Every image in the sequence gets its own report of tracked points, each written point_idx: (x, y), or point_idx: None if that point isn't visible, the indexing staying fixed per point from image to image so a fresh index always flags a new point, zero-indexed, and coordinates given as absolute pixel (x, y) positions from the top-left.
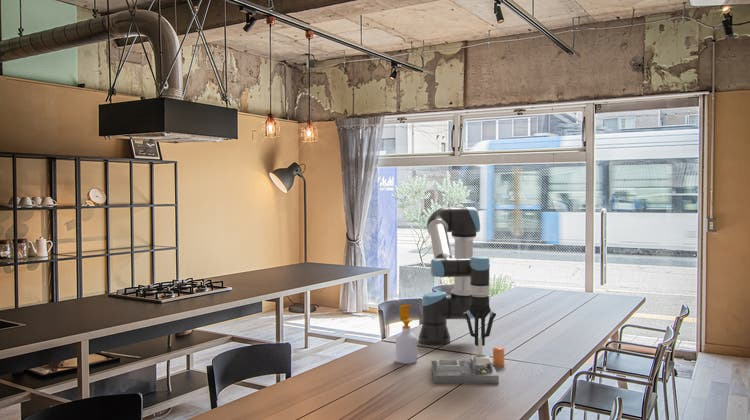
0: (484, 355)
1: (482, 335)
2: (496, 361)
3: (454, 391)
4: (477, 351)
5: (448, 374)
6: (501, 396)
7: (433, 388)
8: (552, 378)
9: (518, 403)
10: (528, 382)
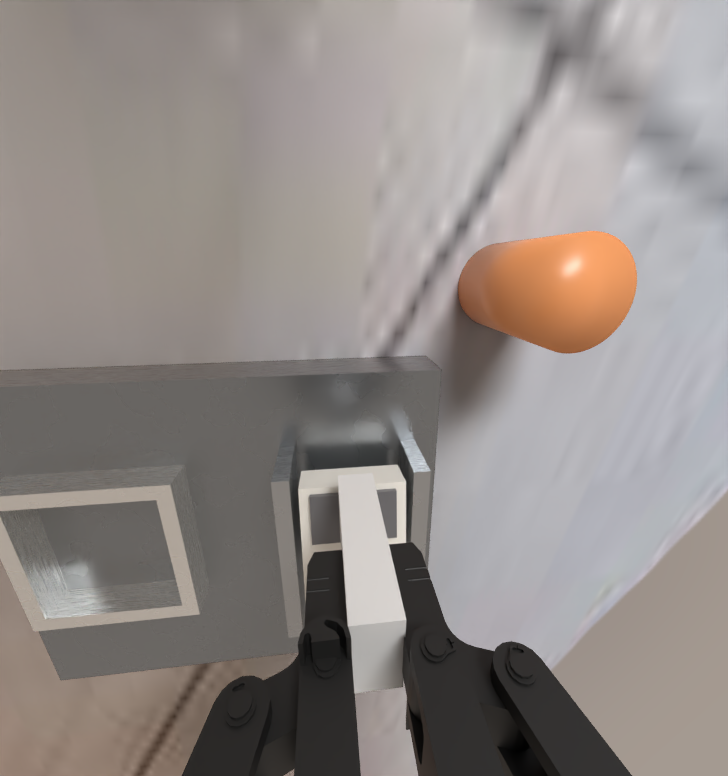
0: (391, 518)
1: (420, 738)
2: (489, 326)
3: (204, 699)
4: (338, 490)
5: (143, 654)
6: (392, 712)
7: (99, 684)
8: (680, 512)
9: None
10: (550, 571)
